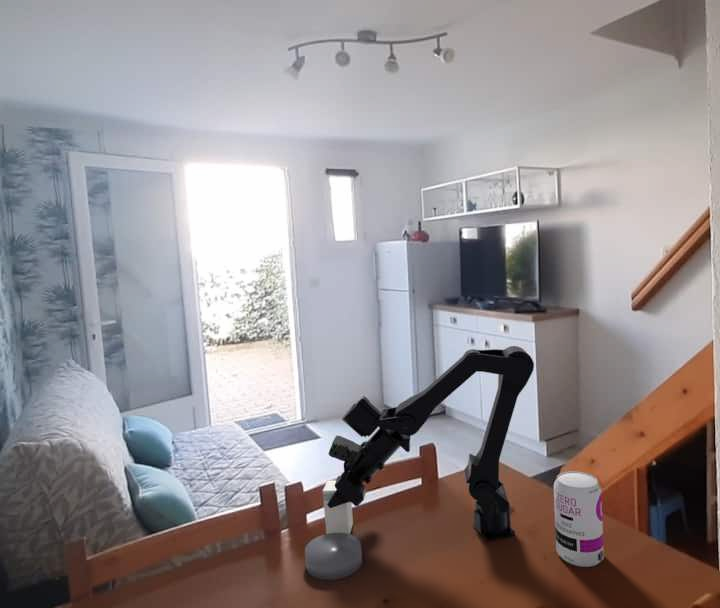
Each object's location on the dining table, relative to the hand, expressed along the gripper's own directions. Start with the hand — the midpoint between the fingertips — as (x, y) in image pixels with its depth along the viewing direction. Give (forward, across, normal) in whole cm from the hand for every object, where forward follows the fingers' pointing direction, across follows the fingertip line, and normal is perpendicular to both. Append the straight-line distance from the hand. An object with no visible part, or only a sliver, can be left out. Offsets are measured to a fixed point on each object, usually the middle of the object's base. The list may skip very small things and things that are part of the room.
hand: (331, 500), depth 112 cm
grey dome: (+3, +12, +6) cm, 14 cm away
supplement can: (-30, +9, +40) cm, 50 cm away
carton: (+4, 0, +6) cm, 7 cm away
